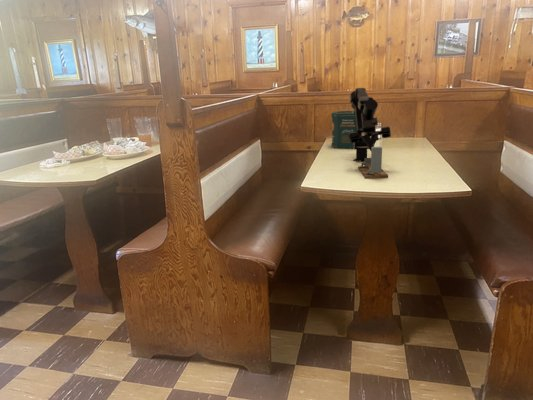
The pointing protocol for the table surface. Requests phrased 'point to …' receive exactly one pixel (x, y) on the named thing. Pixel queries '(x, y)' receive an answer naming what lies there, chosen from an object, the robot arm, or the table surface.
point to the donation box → (343, 129)
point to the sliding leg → (376, 160)
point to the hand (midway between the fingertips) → (371, 150)
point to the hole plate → (368, 167)
